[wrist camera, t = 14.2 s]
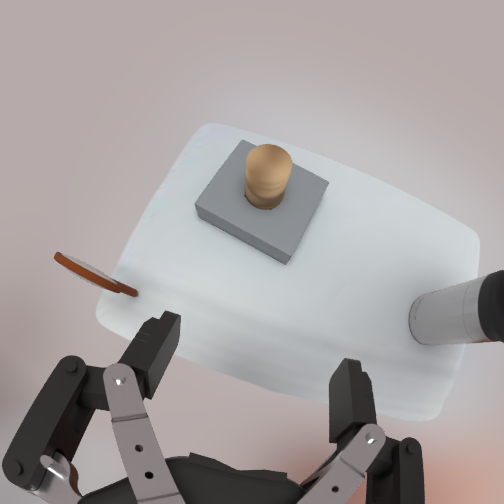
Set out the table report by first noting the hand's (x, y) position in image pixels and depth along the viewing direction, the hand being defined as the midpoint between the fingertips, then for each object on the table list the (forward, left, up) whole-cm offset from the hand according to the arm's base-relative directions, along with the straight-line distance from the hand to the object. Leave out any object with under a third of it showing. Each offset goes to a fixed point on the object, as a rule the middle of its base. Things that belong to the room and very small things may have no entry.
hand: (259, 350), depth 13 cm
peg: (+8, -20, -29) cm, 36 cm away
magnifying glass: (+18, +3, -29) cm, 35 cm away
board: (+8, -20, -29) cm, 36 cm away
